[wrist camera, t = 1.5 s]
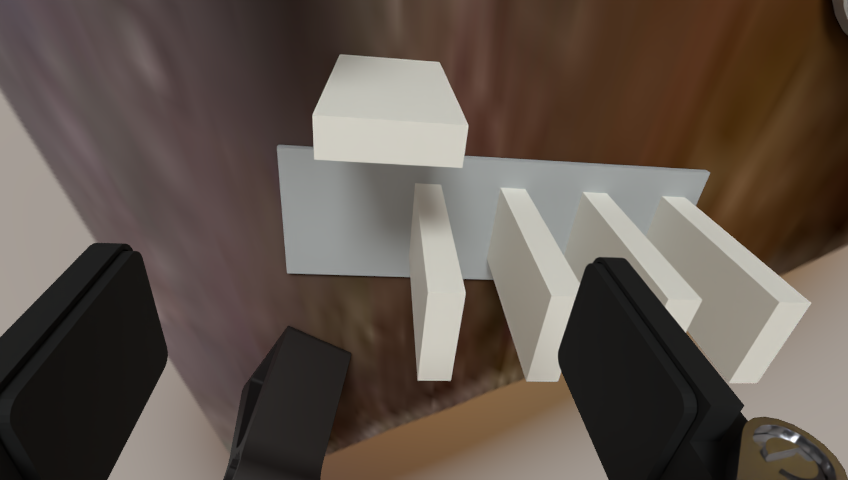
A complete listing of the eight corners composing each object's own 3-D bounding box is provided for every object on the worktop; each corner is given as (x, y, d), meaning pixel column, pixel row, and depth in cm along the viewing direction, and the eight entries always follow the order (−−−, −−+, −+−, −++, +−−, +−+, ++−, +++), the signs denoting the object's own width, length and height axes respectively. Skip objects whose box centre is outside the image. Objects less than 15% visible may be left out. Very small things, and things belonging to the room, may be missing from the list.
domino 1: (339, 54, 28) (312, 115, 18) (439, 62, 28) (468, 125, 18) (340, 85, 29) (314, 159, 19) (436, 92, 29) (462, 168, 19)
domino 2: (441, 184, 32) (465, 293, 22) (432, 256, 35) (450, 380, 25) (415, 183, 32) (428, 292, 22) (408, 255, 35) (417, 380, 25)
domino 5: (684, 197, 34) (811, 303, 24) (656, 264, 37) (757, 383, 27) (661, 196, 34) (779, 302, 24) (634, 263, 37) (728, 383, 27)
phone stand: (289, 323, 39) (254, 457, 28) (352, 351, 41) (340, 485, 31) (242, 387, 42) (196, 525, 32) (302, 409, 44) (277, 546, 34)
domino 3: (525, 189, 33) (587, 296, 23) (509, 259, 36) (557, 381, 26) (500, 187, 33) (551, 295, 22) (486, 258, 36) (526, 381, 26)
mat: (706, 170, 33) (710, 172, 33) (657, 281, 39) (660, 285, 38) (278, 144, 30) (276, 147, 30) (288, 269, 36) (287, 273, 35)
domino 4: (606, 193, 33) (702, 300, 23) (584, 262, 37) (660, 382, 26) (582, 191, 33) (668, 298, 23) (562, 261, 36) (629, 382, 26)
